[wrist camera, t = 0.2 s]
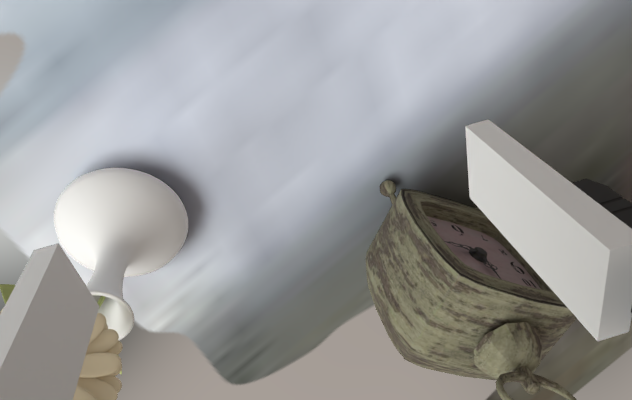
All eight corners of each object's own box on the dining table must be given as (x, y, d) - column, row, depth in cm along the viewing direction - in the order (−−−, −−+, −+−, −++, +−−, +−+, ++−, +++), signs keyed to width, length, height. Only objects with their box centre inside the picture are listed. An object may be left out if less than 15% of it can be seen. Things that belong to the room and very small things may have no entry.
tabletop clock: (492, 201, 52) (681, 398, 31) (450, 266, 56) (594, 481, 35) (376, 163, 47) (507, 367, 26) (338, 237, 51) (426, 468, 30)
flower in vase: (212, 230, 48) (210, 483, 27) (113, 281, 49) (36, 564, 28) (129, 121, 41) (39, 345, 20) (15, 182, 42) (-186, 459, 21)
